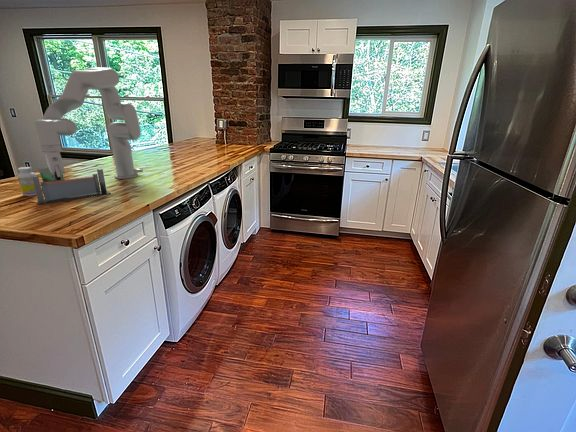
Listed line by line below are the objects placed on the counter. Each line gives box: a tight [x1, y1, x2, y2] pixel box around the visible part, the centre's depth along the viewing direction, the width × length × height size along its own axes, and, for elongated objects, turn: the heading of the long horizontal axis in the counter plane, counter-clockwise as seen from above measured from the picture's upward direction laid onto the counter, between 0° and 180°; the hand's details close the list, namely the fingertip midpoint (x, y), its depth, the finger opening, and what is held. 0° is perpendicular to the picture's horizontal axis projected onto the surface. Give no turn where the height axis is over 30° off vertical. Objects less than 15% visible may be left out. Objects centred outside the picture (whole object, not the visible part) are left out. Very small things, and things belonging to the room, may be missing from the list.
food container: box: [37, 167, 65, 182], centre depth 159 cm, size 12×6×10 cm, turn 168°
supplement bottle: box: [17, 166, 37, 197], centre depth 143 cm, size 7×7×13 cm
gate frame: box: [32, 168, 111, 206], centre depth 141 cm, size 28×6×12 cm, turn 134°
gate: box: [39, 173, 101, 201], centre depth 140 cm, size 22×2×9 cm, turn 134°
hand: (60, 188), depth 142 cm, fingers closed
